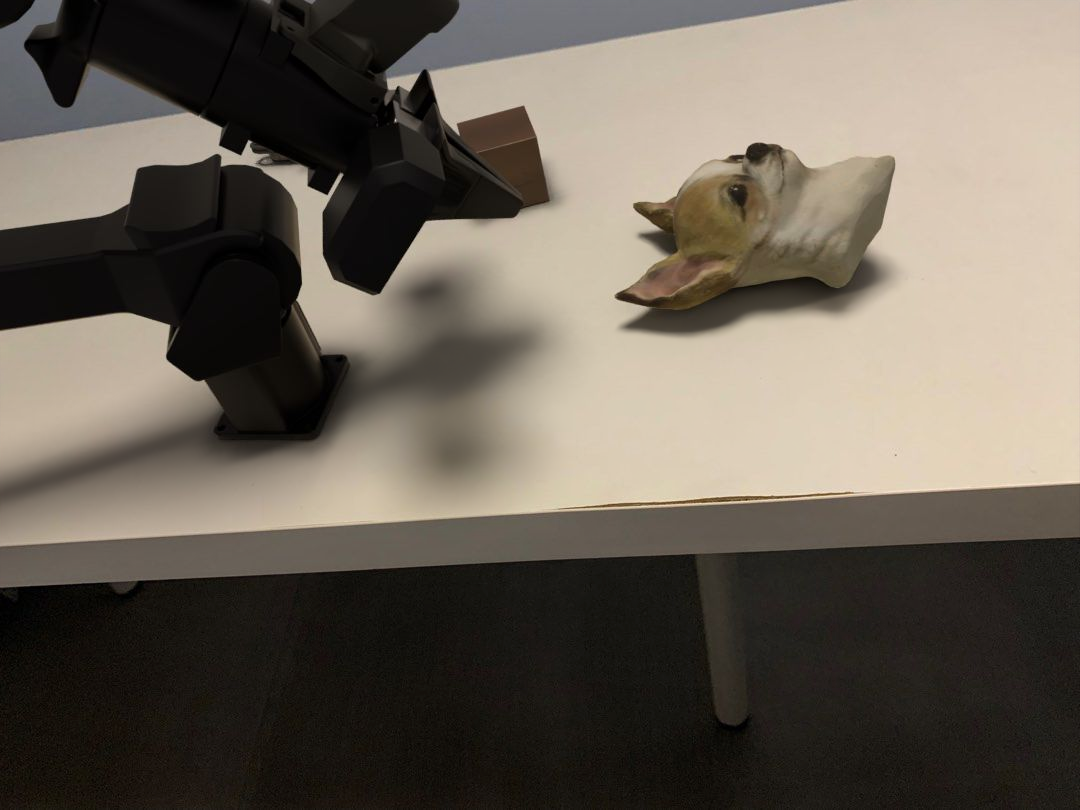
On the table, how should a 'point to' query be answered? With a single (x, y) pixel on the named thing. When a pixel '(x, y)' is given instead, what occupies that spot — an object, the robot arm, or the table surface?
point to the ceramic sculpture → (763, 225)
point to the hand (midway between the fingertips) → (518, 207)
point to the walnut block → (509, 150)
